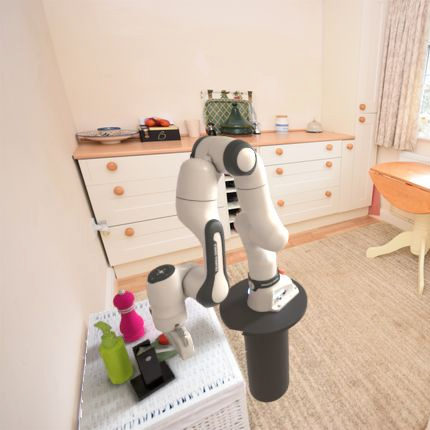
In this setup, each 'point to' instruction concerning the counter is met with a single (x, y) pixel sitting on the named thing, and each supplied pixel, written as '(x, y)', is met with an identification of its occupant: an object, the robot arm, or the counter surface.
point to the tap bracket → (149, 372)
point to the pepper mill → (128, 316)
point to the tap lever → (158, 350)
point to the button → (163, 340)
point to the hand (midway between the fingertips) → (177, 350)
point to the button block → (162, 355)
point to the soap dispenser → (114, 355)
